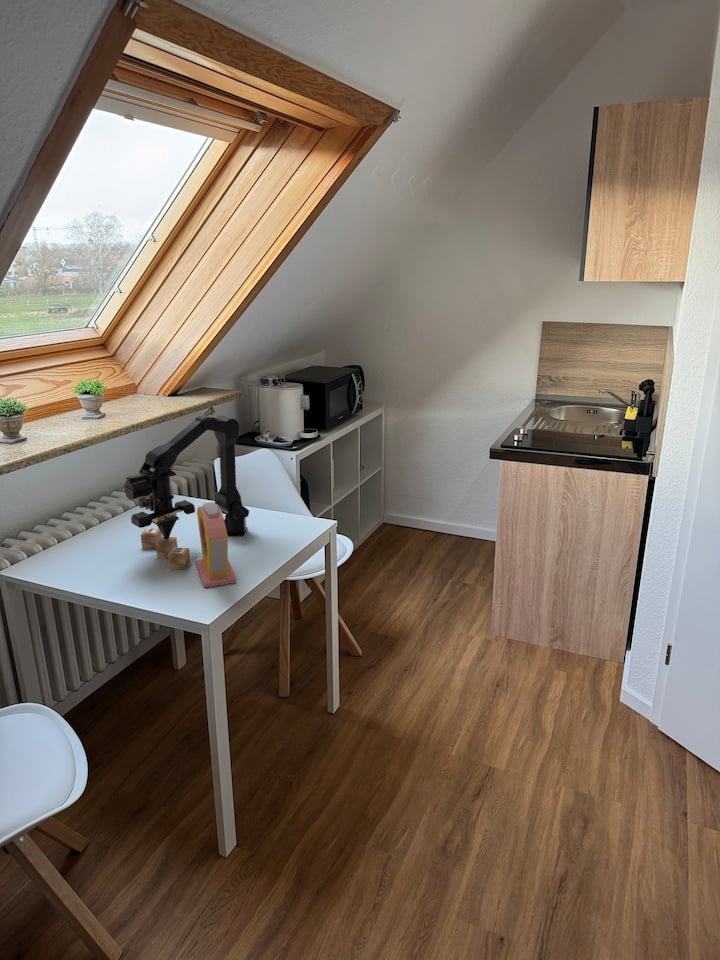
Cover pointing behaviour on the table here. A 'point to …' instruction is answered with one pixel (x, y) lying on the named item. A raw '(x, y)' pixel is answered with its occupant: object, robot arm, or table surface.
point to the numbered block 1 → (150, 538)
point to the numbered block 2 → (178, 558)
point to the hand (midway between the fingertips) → (166, 539)
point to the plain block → (165, 546)
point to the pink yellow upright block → (213, 547)
